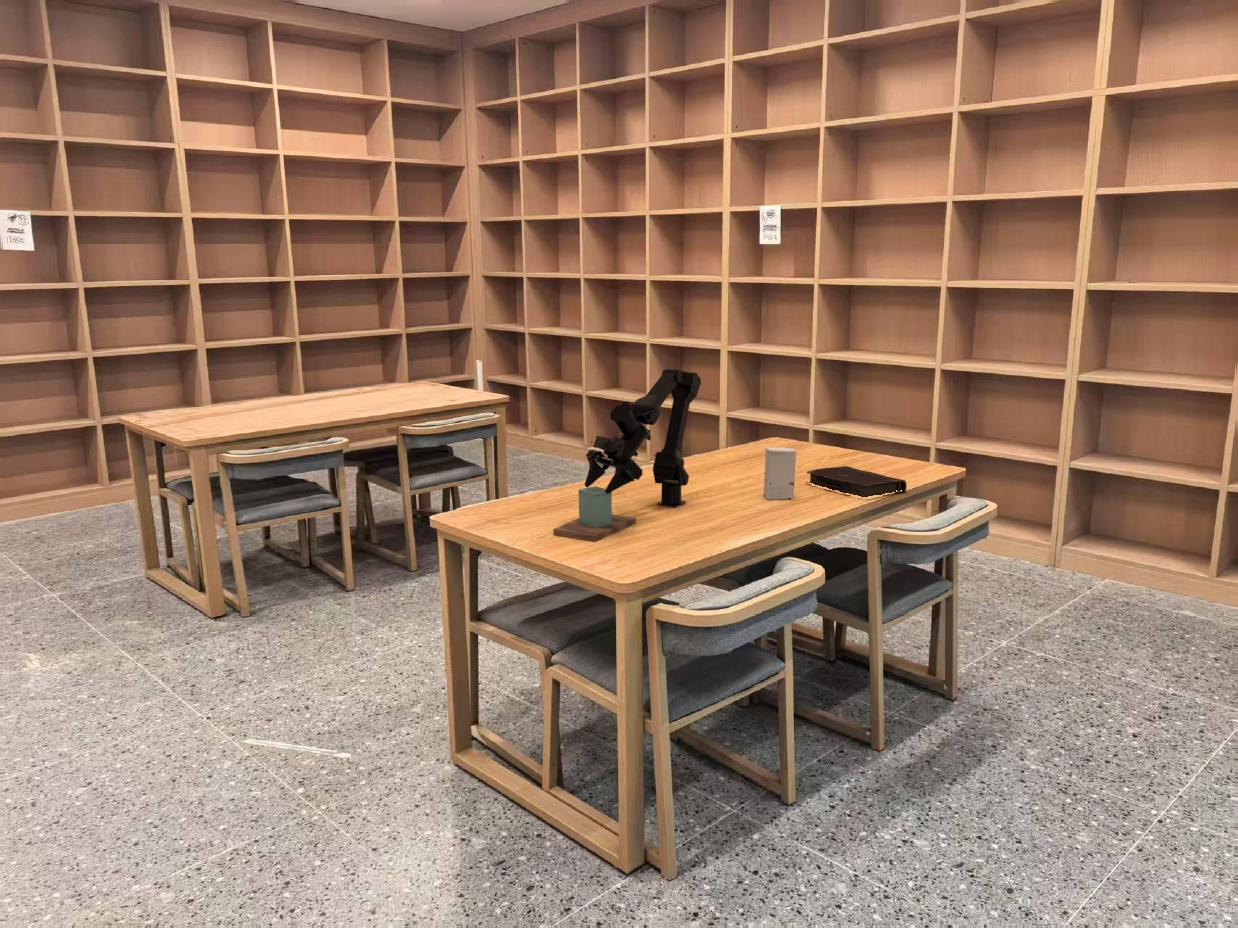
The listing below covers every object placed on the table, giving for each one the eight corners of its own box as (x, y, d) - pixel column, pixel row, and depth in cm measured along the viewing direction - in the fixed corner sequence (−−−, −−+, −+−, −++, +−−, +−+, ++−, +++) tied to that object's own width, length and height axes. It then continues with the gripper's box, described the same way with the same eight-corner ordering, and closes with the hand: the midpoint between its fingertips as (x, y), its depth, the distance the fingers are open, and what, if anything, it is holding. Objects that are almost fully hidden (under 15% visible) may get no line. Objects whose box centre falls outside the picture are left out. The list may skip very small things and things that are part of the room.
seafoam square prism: (596, 518, 249) (595, 486, 247) (611, 524, 243) (611, 491, 241) (579, 522, 245) (578, 489, 244) (594, 528, 240) (594, 494, 238)
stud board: (595, 517, 256) (595, 498, 255) (636, 523, 250) (635, 504, 249) (553, 534, 240) (553, 515, 238) (595, 541, 233) (595, 521, 232)
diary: (846, 479, 302) (847, 464, 301) (906, 495, 281) (907, 478, 280) (803, 486, 293) (804, 470, 292) (861, 502, 272) (862, 485, 271)
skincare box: (766, 500, 273) (768, 450, 270) (763, 495, 279) (764, 446, 276) (795, 499, 274) (796, 450, 271) (790, 494, 280) (792, 446, 277)
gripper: (590, 419, 250) (557, 465, 245) (633, 429, 235) (598, 477, 231) (614, 444, 256) (582, 489, 252) (657, 455, 241) (623, 503, 237)
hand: (595, 489), depth 243 cm, fingers open, 9 cm apart
